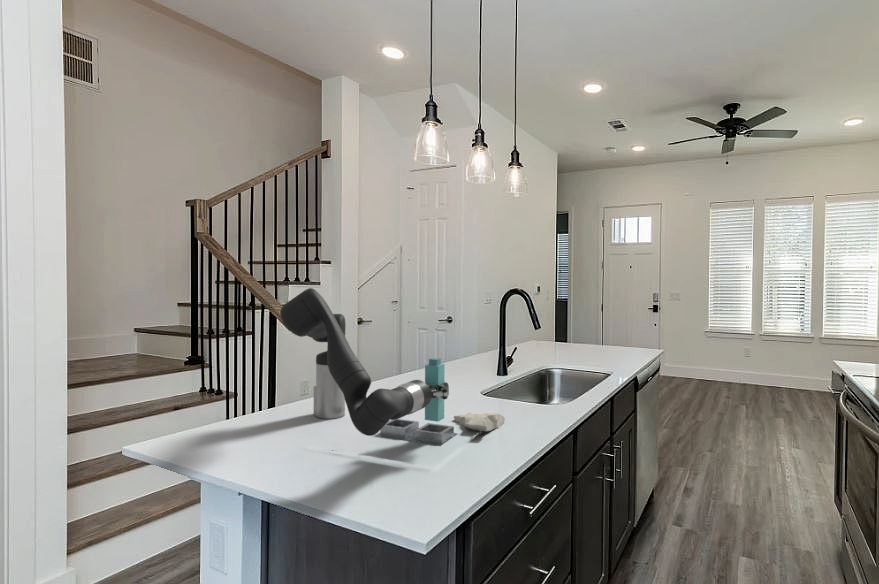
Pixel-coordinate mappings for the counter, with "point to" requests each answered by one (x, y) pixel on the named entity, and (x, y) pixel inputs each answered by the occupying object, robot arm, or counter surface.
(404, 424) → the panel
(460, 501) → the counter surface
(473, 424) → the rock
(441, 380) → the plug
